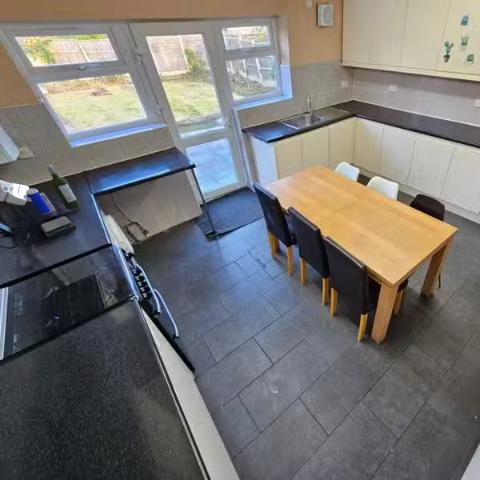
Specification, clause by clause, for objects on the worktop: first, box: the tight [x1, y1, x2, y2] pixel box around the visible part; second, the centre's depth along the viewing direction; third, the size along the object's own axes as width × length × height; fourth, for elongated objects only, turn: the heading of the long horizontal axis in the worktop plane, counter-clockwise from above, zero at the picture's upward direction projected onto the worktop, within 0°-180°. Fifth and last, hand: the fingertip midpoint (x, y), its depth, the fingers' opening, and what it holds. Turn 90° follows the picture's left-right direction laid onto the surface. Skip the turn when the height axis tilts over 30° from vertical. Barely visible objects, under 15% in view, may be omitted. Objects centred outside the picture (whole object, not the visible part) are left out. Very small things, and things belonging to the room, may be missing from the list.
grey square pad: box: [40, 215, 71, 233], centre depth 168 cm, size 12×12×1 cm
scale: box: [40, 216, 78, 239], centre depth 169 cm, size 14×16×3 cm
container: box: [39, 192, 58, 217], centre depth 178 cm, size 5×5×15 cm
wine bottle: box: [45, 164, 81, 210], centre depth 181 cm, size 8×8×30 cm
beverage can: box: [25, 187, 51, 215], centre depth 157 cm, size 5×5×15 cm
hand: (38, 199), depth 157 cm, fingers closed on beverage can, 3 cm apart
